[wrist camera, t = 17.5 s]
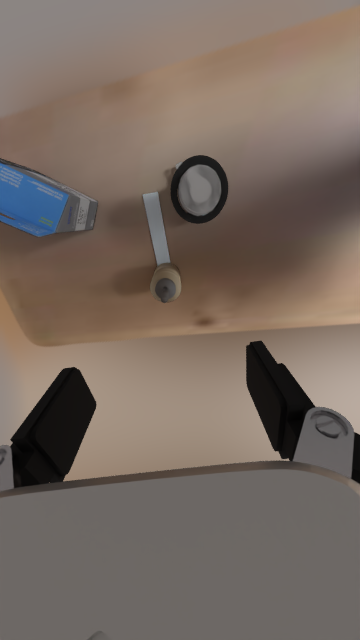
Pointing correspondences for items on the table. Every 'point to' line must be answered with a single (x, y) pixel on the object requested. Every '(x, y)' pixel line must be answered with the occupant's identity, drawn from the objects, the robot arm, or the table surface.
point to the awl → (166, 283)
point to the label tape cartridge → (42, 202)
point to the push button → (199, 189)
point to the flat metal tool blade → (156, 227)
